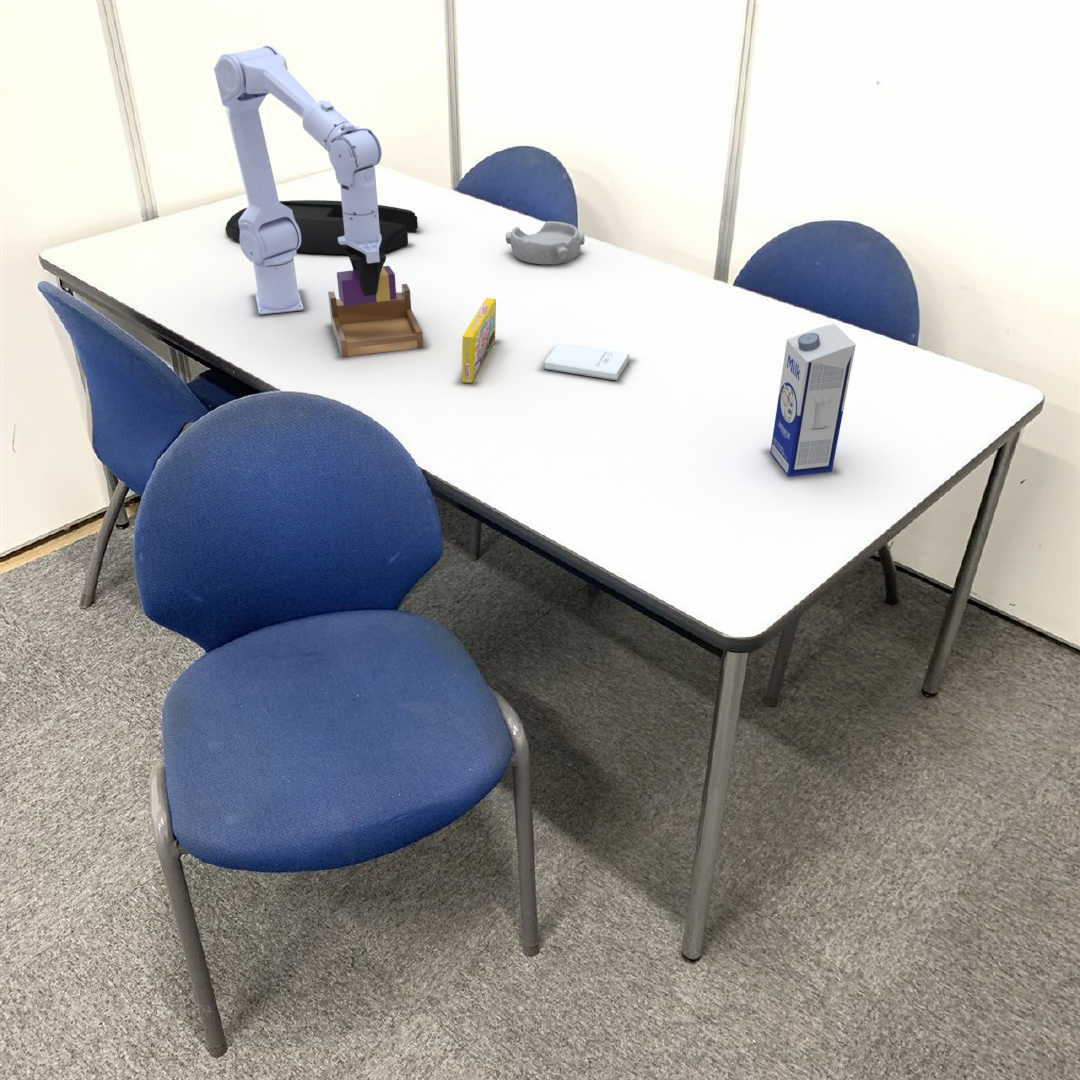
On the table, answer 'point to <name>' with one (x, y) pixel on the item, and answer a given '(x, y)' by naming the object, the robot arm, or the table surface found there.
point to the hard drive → (586, 361)
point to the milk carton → (812, 400)
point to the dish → (547, 243)
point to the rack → (375, 325)
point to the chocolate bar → (354, 294)
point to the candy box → (478, 340)
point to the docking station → (337, 226)
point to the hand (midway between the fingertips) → (367, 289)
